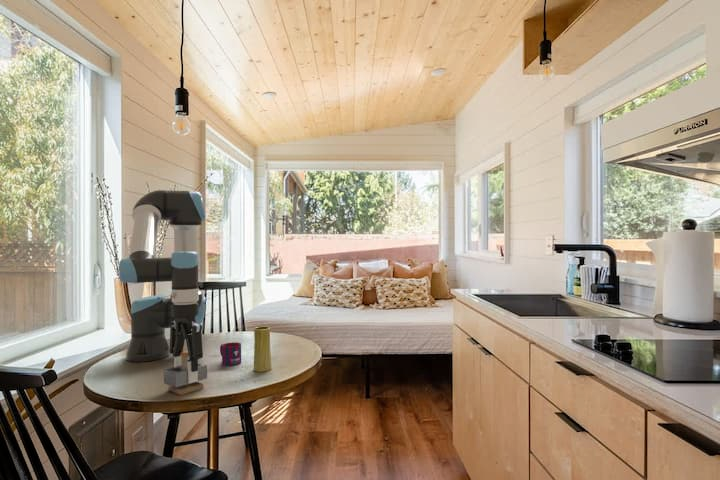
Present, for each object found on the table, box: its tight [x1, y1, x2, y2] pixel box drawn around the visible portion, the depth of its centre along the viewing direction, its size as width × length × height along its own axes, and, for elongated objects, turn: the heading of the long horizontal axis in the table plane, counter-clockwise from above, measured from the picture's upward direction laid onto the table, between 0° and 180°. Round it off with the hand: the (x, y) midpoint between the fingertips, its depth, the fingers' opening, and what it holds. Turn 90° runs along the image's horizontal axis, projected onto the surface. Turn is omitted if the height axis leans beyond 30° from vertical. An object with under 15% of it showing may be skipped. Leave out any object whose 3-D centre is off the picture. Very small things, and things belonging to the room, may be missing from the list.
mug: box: [219, 341, 242, 367], centre depth 152 cm, size 7×10×7 cm
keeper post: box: [168, 350, 204, 396], centre depth 124 cm, size 7×7×11 cm
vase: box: [253, 326, 272, 373], centre depth 142 cm, size 6×6×14 cm
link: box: [163, 362, 208, 387], centre depth 124 cm, size 6×10×4 cm, turn 144°
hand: (185, 379), depth 124 cm, fingers closed on link, 6 cm apart
